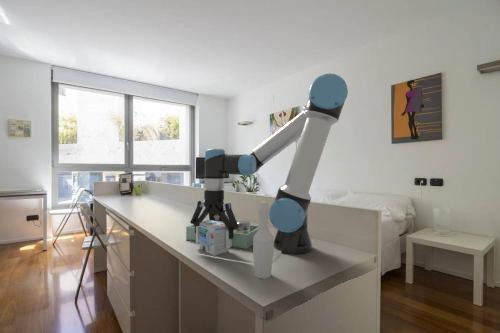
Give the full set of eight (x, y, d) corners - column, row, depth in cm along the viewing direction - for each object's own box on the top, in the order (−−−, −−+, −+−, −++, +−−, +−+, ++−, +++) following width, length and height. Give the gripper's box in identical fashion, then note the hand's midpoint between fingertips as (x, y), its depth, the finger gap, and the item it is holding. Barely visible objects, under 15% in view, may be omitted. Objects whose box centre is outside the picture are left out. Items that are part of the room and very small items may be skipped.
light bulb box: (198, 249, 100) (199, 222, 99) (213, 246, 104) (213, 219, 104) (214, 257, 92) (214, 227, 92) (229, 253, 96) (229, 224, 96)
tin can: (253, 239, 111) (253, 221, 111) (244, 244, 104) (245, 225, 104) (236, 237, 115) (236, 219, 115) (227, 242, 107) (227, 223, 107)
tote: (262, 239, 114) (262, 226, 114) (247, 250, 100) (247, 234, 99) (206, 231, 126) (206, 219, 126) (186, 240, 112) (186, 226, 112)
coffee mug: (205, 227, 135) (205, 208, 135) (210, 223, 144) (211, 206, 144) (227, 228, 133) (227, 209, 133) (231, 224, 142) (231, 206, 142)
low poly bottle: (250, 271, 79) (251, 201, 79) (270, 270, 81) (270, 200, 81) (255, 280, 73) (256, 204, 73) (276, 278, 74) (277, 203, 74)
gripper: (247, 190, 96) (246, 246, 96) (193, 187, 106) (193, 237, 107) (238, 192, 89) (237, 253, 89) (181, 188, 100) (181, 242, 100)
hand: (213, 244), depth 98 cm, fingers open, 13 cm apart
